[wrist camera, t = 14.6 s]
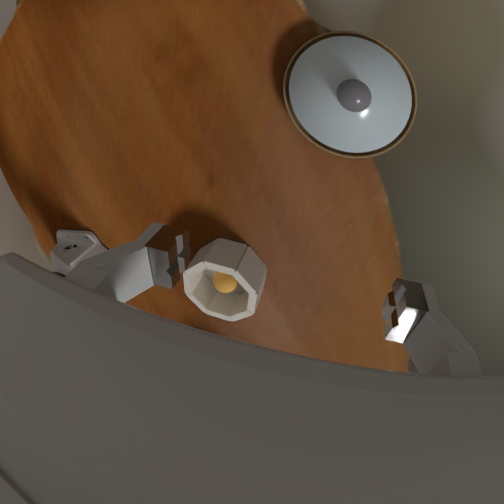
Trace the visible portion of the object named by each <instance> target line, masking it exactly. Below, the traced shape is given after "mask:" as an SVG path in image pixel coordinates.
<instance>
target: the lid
mask: <svg viewBox="0 0 504 504" xmlns="http://www.w3.org/2000/svg"><path fill="white" fill-rule="evenodd" d="M289 96H290V101H291V105H292V108H293V111H294V113H295V115H296V117H297V119H298V120H299V122H300V123H301V125H302V126H303V127H304V128H305V129H306V131H307V132H309V133H310V134H311V135H312V136H313V137H314V138H316V139H317V140H318V141H320V142H321V143H323V144H325V145H327V146H329V147H331V148H334V149H337V150H340V151H345V152H352V153H363V152H369V151H373V150H377V149H379V148H381V147H384V146H386V145H387V144H389V143H390V142H392V141H393V140H394V139H395V138H396V137H397V136H398V135H399V134H400V133H401V132H402V130H403V129H404V127H405V126H406V123H407V121H408V119H409V116H410V113H411V106H412V95H411V89H410V85H409V81H408V79H407V76H406V74H405V72H404V71H403V69H402V67H401V66H400V65H399V63H398V62H397V61H396V60H395V58H394V57H393V56H392V55H391V54H389V53H388V52H387V51H386V50H385V49H383V48H381V47H380V46H378V45H377V44H375V43H372V42H370V41H368V40H365V39H362V38H357V37H351V36H336V37H331V38H327V39H324V40H321V41H319V42H317V43H315V44H313V45H312V46H310V47H309V48H308V49H306V50H305V51H304V52H303V53H302V54H301V56H300V57H299V58H298V60H297V61H296V63H295V65H294V67H293V69H292V72H291V76H290V80H289Z"/></svg>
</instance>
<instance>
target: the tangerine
mask: <svg viewBox="0 0 504 504" xmlns="http://www.w3.org/2000/svg"><path fill="white" fill-rule="evenodd" d="M213 283H214V286H215V288H216V289H217V290H218V291H220V292H223V293H229V292H232V291H233V290H234V289H235V288H236V287H237V285H238V281H237V280H236V279H235V278H234V277H233V276H232V275H229V274H226V273H222V272H219V271H217V272H216V273H215V275H214V277H213Z"/></svg>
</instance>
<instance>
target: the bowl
mask: <svg viewBox="0 0 504 504" xmlns="http://www.w3.org/2000/svg"><path fill="white" fill-rule="evenodd" d="M266 267H267V266H266V265H265V264H264V263H263V262H262V260H261V259H260V258H259V257H258V256H257V254H256V253H255V252H254V251H253V250H252V248H251V247H250V246H248V247H247V244H243V243H239V242H235V241H231V240H227V239H223V238H219V239H218V238H217V239H215V240H214V241H212V242H210V243H209V244H207V245H206V246H204V247H202V248H201V249H200V250H199V251H198V252H197V254H196V255H195V257H194V258H193V259H192V261H191V262H190V264H189V265H188V267H187V269H186V270H185V271H184V273H183V278H184V288H185V293H186V295H187V296H188V297H189V298H190V299H191V300H192V301H193V302H194V303H195V304H196V305H197V306H198V307H199V308H200V309H201V310H202V311H203V312H206V314H208V315H211V316H215V317H218V318H221V319H224V320H228V321H231V320H232V321H236V320H239V319H242V318H245V317H249V316H252V315H253V314H254V313H255V310H256V307H257V305H258V302H259V299H260V296H261V294H262V291H263V288H264V283H265V277H266V272H267V268H266ZM217 271H219V272H222V273H226V274H229V275H232V276H233V277H234V278H235V279H236V280H237V281H238V285H237V287H236V288H235V289H234V290H233V291H232V292H229V293H223V292H220V291H218V290H217V289H216V288H215V286H214V283H213V277H214V275H215V273H216V272H217Z"/></svg>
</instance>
